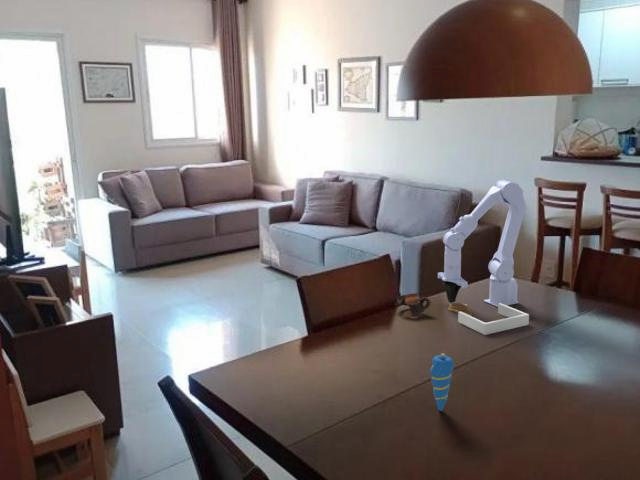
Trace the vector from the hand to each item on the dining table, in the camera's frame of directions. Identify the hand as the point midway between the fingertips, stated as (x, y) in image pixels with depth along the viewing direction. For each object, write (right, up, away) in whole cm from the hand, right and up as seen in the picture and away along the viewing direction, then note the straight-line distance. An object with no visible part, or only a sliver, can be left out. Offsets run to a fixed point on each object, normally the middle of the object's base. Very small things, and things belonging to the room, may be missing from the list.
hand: (451, 301), depth 205 cm
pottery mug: (-15, -3, -7) cm, 17 cm away
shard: (+3, -3, -6) cm, 7 cm away
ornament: (-19, -18, -72) cm, 77 cm away
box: (+9, -5, -18) cm, 21 cm away
